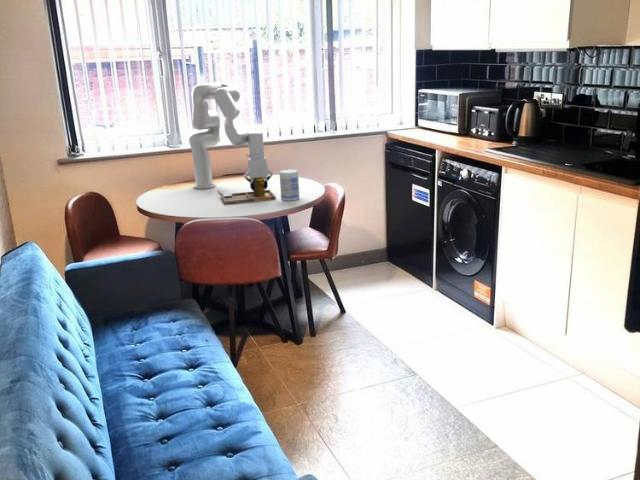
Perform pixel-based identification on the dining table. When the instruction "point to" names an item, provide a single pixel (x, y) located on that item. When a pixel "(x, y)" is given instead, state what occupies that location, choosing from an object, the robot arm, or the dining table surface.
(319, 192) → the dining table surface
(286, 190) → the supplement tub
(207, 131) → the robot arm
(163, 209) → the dining table surface
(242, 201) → the divided wooden tray
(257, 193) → the condiment
